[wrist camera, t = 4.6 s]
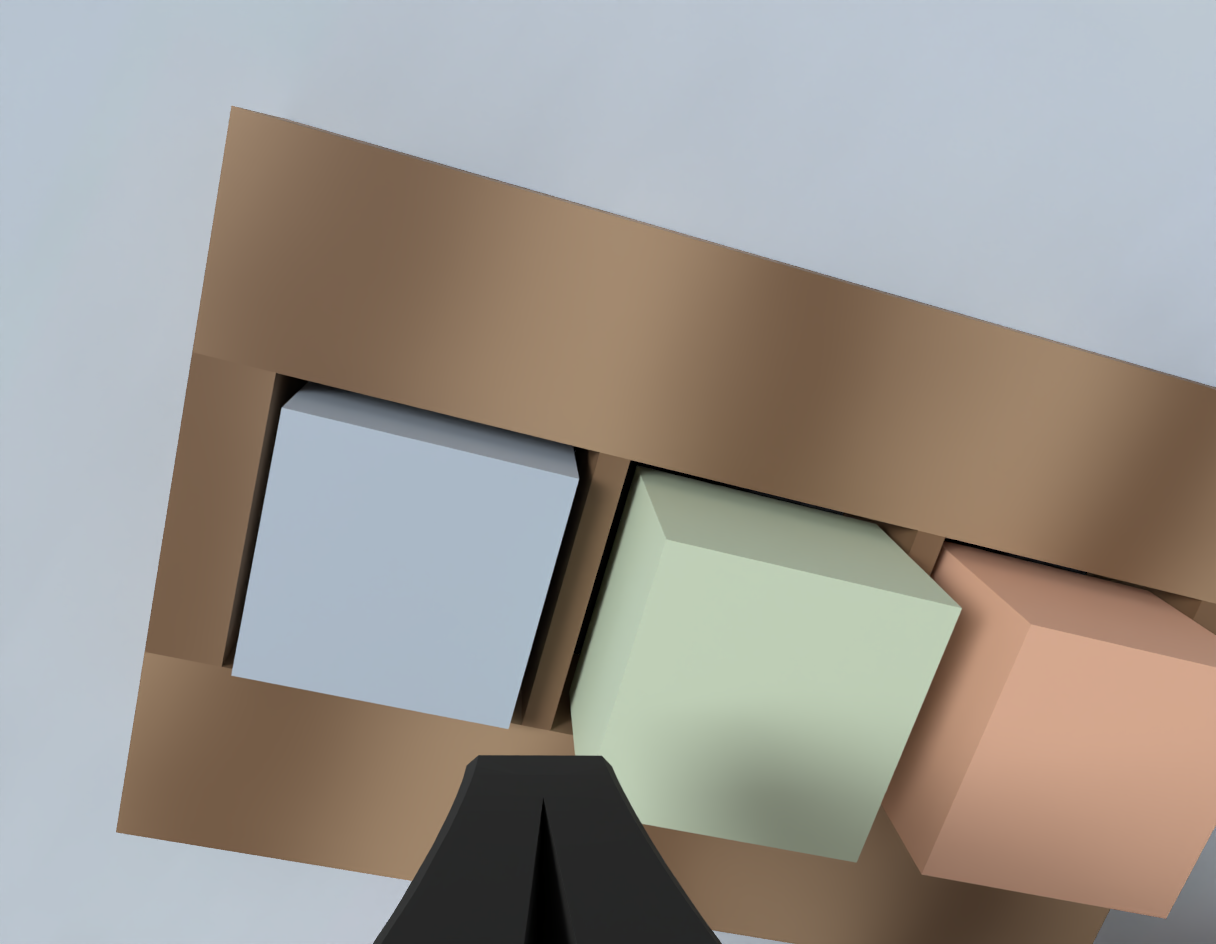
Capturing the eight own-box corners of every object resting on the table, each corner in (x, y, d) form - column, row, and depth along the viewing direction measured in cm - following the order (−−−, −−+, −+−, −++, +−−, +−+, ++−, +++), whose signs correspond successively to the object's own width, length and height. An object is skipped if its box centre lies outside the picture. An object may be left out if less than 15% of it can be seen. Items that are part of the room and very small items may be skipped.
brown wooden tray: (1227, 390, 19) (1354, 429, 16) (998, 882, 22) (1069, 988, 19) (283, 118, 16) (231, 105, 13) (177, 733, 19) (116, 832, 16)
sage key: (876, 523, 17) (962, 607, 13) (793, 742, 18) (854, 868, 15) (636, 465, 16) (666, 539, 13) (567, 696, 17) (578, 818, 14)
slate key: (568, 422, 17) (578, 479, 14) (509, 637, 19) (507, 734, 15) (327, 362, 17) (281, 406, 13) (282, 589, 18) (229, 681, 15)
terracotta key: (1148, 590, 17) (1290, 685, 14) (1052, 794, 19) (1163, 923, 15) (932, 538, 17) (1030, 623, 14) (847, 752, 18) (918, 879, 15)
